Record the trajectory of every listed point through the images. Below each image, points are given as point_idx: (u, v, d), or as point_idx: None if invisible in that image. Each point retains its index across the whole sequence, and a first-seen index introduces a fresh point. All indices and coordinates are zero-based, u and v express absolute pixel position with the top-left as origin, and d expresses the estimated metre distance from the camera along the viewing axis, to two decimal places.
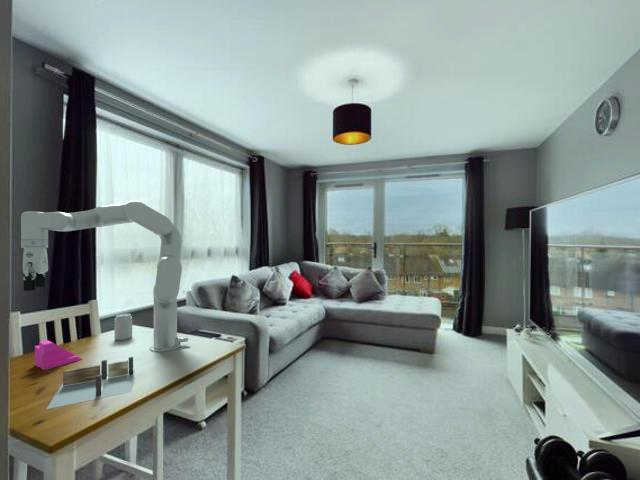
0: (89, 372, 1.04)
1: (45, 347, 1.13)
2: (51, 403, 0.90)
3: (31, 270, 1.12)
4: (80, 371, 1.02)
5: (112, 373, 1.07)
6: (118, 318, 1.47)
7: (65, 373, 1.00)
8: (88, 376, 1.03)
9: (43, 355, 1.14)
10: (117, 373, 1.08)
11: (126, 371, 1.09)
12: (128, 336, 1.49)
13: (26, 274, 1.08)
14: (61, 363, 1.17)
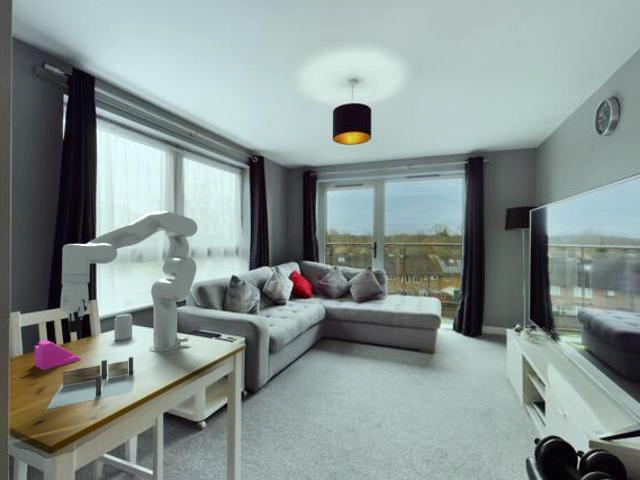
0: (89, 372, 1.04)
1: (44, 347, 1.13)
2: (51, 403, 0.90)
3: None
4: (80, 371, 1.02)
5: (112, 373, 1.07)
6: (118, 318, 1.47)
7: (65, 373, 1.00)
8: (88, 376, 1.03)
9: (42, 355, 1.14)
10: (117, 373, 1.08)
11: (126, 371, 1.09)
12: (128, 336, 1.49)
13: None
14: (60, 363, 1.17)
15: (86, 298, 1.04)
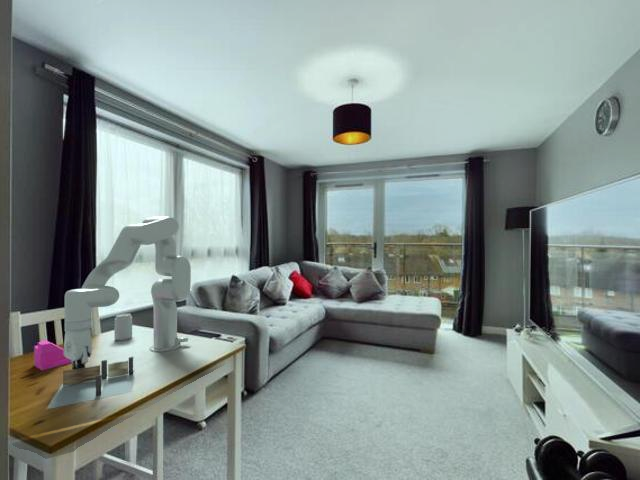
0: (89, 372, 1.04)
1: (43, 347, 1.13)
2: (51, 403, 0.90)
3: None
4: (80, 371, 1.02)
5: (112, 373, 1.07)
6: (118, 318, 1.47)
7: (65, 373, 1.00)
8: (88, 376, 1.03)
9: (41, 355, 1.14)
10: (117, 373, 1.08)
11: (126, 371, 1.09)
12: (128, 336, 1.49)
13: None
14: (59, 363, 1.17)
15: (89, 344, 1.03)
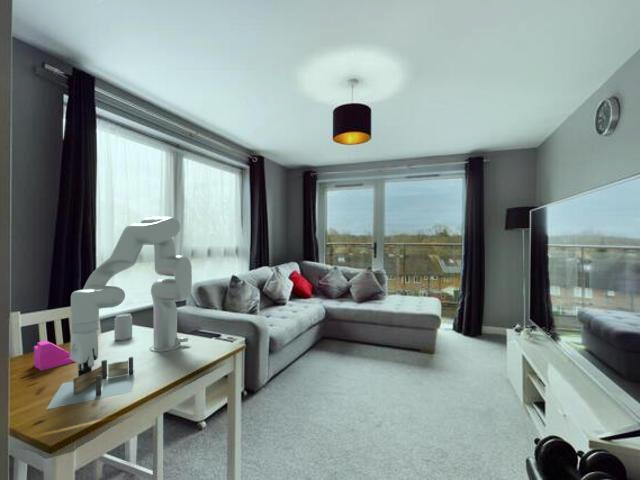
0: (95, 374, 1.02)
1: (42, 347, 1.13)
2: (51, 403, 0.90)
3: None
4: (88, 375, 0.99)
5: (112, 373, 1.07)
6: (118, 318, 1.47)
7: (78, 380, 0.96)
8: (94, 379, 1.02)
9: (40, 355, 1.14)
10: (117, 373, 1.08)
11: (126, 371, 1.09)
12: (128, 336, 1.49)
13: None
14: (59, 364, 1.17)
15: (95, 347, 1.00)
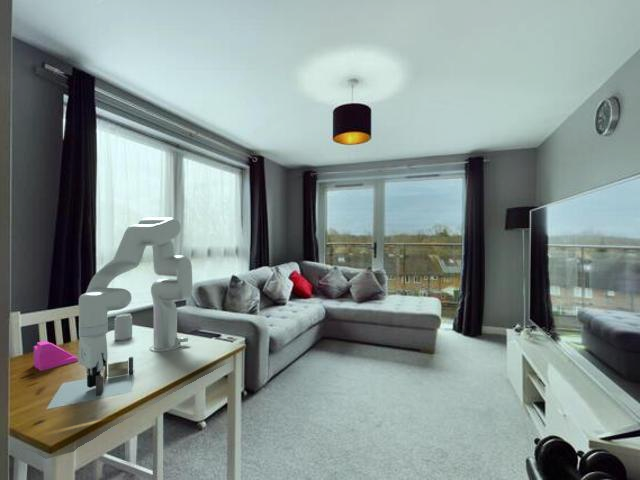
0: None
1: (42, 348, 1.13)
2: (51, 403, 0.90)
3: None
4: (104, 373, 1.01)
5: (112, 373, 1.07)
6: (118, 318, 1.47)
7: (103, 377, 0.97)
8: (104, 377, 1.02)
9: (40, 356, 1.14)
10: (117, 373, 1.08)
11: (126, 371, 1.09)
12: (128, 336, 1.49)
13: None
14: (58, 364, 1.17)
15: (105, 351, 0.98)
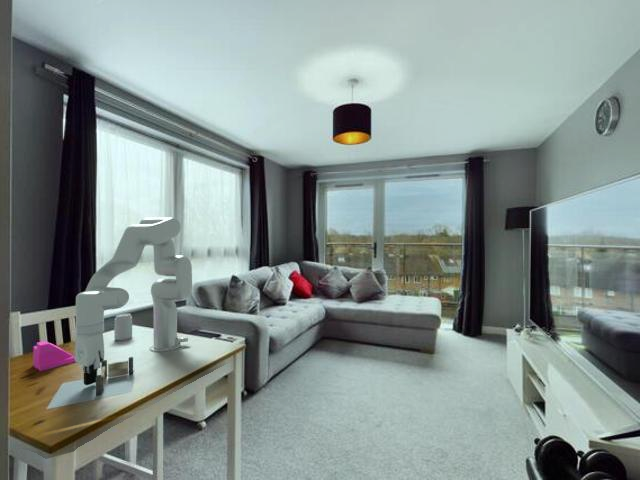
0: None
1: (41, 348, 1.13)
2: (51, 403, 0.90)
3: None
4: (104, 373, 1.01)
5: (112, 373, 1.07)
6: (118, 318, 1.47)
7: (103, 377, 0.97)
8: None
9: (40, 356, 1.13)
10: (117, 373, 1.08)
11: (126, 371, 1.09)
12: (128, 336, 1.49)
13: None
14: (58, 364, 1.16)
15: (102, 349, 0.99)
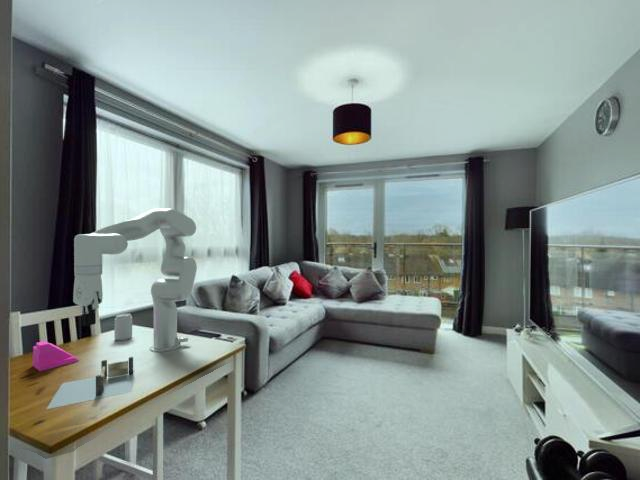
0: None
1: (41, 348, 1.12)
2: (51, 403, 0.90)
3: None
4: (104, 373, 1.01)
5: (112, 373, 1.07)
6: (118, 318, 1.47)
7: (103, 377, 0.97)
8: None
9: (39, 356, 1.13)
10: (117, 373, 1.08)
11: (126, 371, 1.09)
12: (128, 336, 1.49)
13: None
14: (57, 364, 1.16)
15: (100, 290, 1.00)
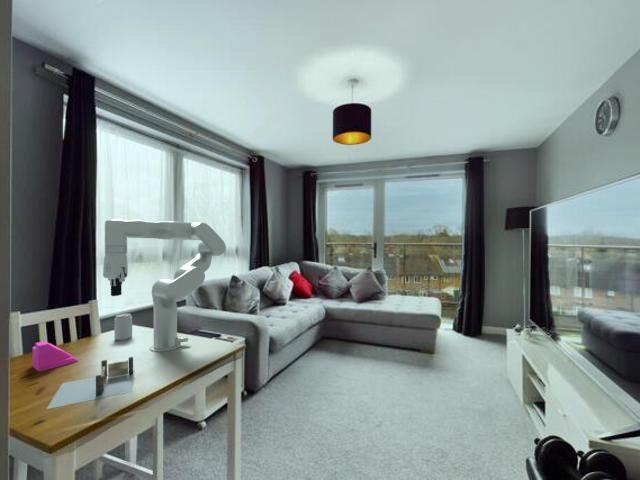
0: None
1: (40, 348, 1.12)
2: (51, 403, 0.90)
3: None
4: (104, 373, 1.01)
5: (112, 373, 1.07)
6: (118, 318, 1.47)
7: (103, 377, 0.97)
8: None
9: (38, 356, 1.13)
10: (117, 373, 1.08)
11: (126, 371, 1.09)
12: (128, 336, 1.49)
13: None
14: (56, 365, 1.16)
15: (125, 266, 1.20)
